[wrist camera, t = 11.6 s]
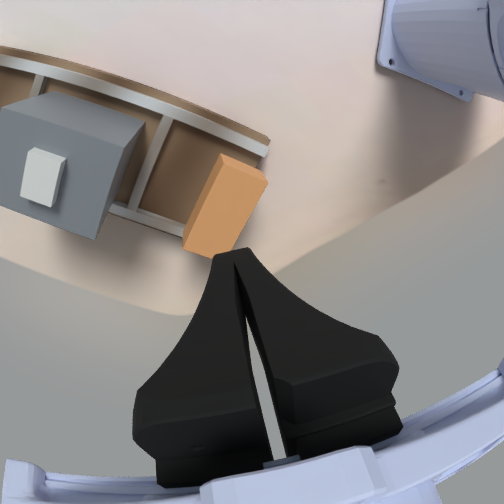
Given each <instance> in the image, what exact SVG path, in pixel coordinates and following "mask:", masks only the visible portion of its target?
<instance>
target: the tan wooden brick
mask: <svg viewBox="0 0 504 504" xmlns="http://www.w3.org/2000/svg"><path fill="white" fill-rule="evenodd" d="M267 185H268V181H267V180H266V178H265V176H264V175H263V173H262V172H261V171H260V170H258V169H256V168H254V167H251V166H249V165H247V164H245V163H242V162H240V161H238V160H235V159H233V158H231V157H228V156H226V155H224V154H221V153H220V155H219V157H218V159H217V161H216V163H215V165H214V167H213V169H212V171H211V173H210V175H209V177H208V179H207V181H206V183H205V185H204V188H203V190H202V192H201V194H200V196H199V198H198V200H197V202H196V204H195V207H194V209H193V211H192V213H191V215H190V217H189V220H188V222H187V224H186V226H185V228H184V231H183V249H184V250H187V251H190V252H193V253H196V254H199V255H202V256H205V257H208V258H211V259H213V256H214V255H215V254H219V253H223V252H228V251H231V249H232V247H233V246H234V244H235V242H236V240H237V238H238V237H239V235H240V233H241V231H242V229H243V228H244V226H245V224H246V222H247V220H248V219H249V217H250V215H251V213H252V211H253V210H254V208H255V206H256V204H257V202H258V201H259V199H260V197H261V195H262V193H263V192H264V190H265V188H266V186H267Z"/></svg>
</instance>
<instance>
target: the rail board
mask: <svg viewBox="0 0 504 504" xmlns="http://www.w3.org/2000/svg"><path fill="white" fill-rule="evenodd" d="M52 91H57V92H61V93H64V94H67V95H70V96H74V97H77V98H80V99H83V100H86V101H89V102H92V103H95V104H98V105H101V106H104V107H107V108H110V109H113V110H116V111H118V112H121V113H124V114H127V115H130V116H132V117H135V118H138V119H141V120H143V121H145V124H144V126H143V129H142V131H141V133H140V136H139V138H138V141H137V143H136V146H135V148H134V151H133V153H132V156H131V159H130V161H129V164H128V167H127V169H126V172H125V175H124V178H123V180H122V183H121V186H120V189H119V191H118V193H117V195H116V197H115V199H114V201H113V203H112V205H111V207H110V209H109V211H108V213H110V214H113V215H116V216H119V217H122V218H125V219H128V220H131V221H133V222H136V223H139V224H142V225H145V226H148V227H151V228H154V229H157V230H160V231H163V232H165V233H168V234H171V235H174V236H177V237H180V238H183V231H184V228H185V226H186V224H187V222H188V220H189V217H190V215H191V213H192V211H193V209H194V207H195V204H196V202H197V200H198V198H199V196H200V194H201V192H202V190H203V188H204V185H205V183H206V181H207V179H208V177H209V175H210V173H211V171H212V169H213V167H214V165H215V163H216V161H217V159H218V157H219V155H220V153H221V154H224V155H226V156H228V157H231V158H233V159H235V160H238V161H240V162H242V163H245V164H247V165H249V166H251V167H254V168H256V166H257V164H258V162H259V161H260V159H261V157H264V158H265V156H266V155H267V153H268V151H269V149H270V148H269V147H268V144H269V142H270V141H271V140H270V139H269V138H268V137H267V136H265V135H263V134H260V133H258V132H256V131H254V130H252V129H250V128H248V127H246V126H243V125H241V124H239V123H237V122H235V121H233V120H230V119H228V118H226V117H224V116H221V115H219V114H217V113H214V112H212V111H210V110H207V109H205V108H203V107H200V106H198V105H196V104H193V103H191V102H188V101H186V100H183V99H181V98H178V97H176V96H173V95H170V94H168V93H165V92H163V91H160V90H157V89H154V88H152V87H149V86H146V85H143V84H141V83H138V82H135V81H132V80H129V79H126V78H123V77H120V76H117V75H114V74H111V73H108V72H105V71H101V70H98V69H95V68H91V67H88V66H85V65H81V64H78V63H74V62H70V61H67V60H63V59H59V58H55V57H51V56H47V55H43V54H39V53H34V52H30V51H25V50H20V49H15V48H10V47H5V46H0V111H1V107H4V106H6V105H9V104H12V103H15V102H18V101H21V100H25V99H28V98H31V97H34V96H38V95H41V94H45V93H49V92H52Z"/></svg>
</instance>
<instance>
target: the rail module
mask: <svg viewBox="0 0 504 504" xmlns="http://www.w3.org/2000/svg"><path fill="white" fill-rule="evenodd" d="M144 124H145V121H143V120H141V119H138V118H135V117H132V116H130V115H127V114H124V113H121V112H118V111H116V110H113V109H110V108H107V107H104V106H101V105H98V104H95V103H92V102H89V101H86V100H83V99H80V98H77V97H74V96H70V95H67V94H64V93H61V92H57V91H52V92H49V93H45V94H41V95H38V96H34V97H31V98H28V99H25V100H21V101H18V102H15V103H12V104H9V105H6V106H4V107H1V111H0V206H3V207H5V208H8V209H11V210H13V211H16V212H18V213H21V214H24V215H26V216H29V217H32V218H34V219H37V220H40V221H42V222H45V223H48V224H50V225H53V226H56V227H58V228H61V229H64V230H67V231H70V232H72V233H75V234H78V235H81V236H83V237H86V238H89V239H92V240H95V239H96V237H97V234H98V232H99V230H100V228H101V226H102V223H103V221H104V219H105V217H106V215H107V213H108V211H109V209H110V207H111V205H112V203H113V201H114V199H115V197H116V195H117V193H118V191H119V189H120V186H121V183H122V180H123V178H124V175H125V172H126V169H127V167H128V164H129V161H130V159H131V156H132V153H133V151H134V148H135V146H136V143H137V141H138V138H139V136H140V133H141V131H142V129H143V126H144Z"/></svg>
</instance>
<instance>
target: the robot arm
mask: <svg viewBox="0 0 504 504" xmlns="http://www.w3.org/2000/svg"><path fill="white" fill-rule="evenodd" d="M389 59H391V61H392V64H391V65H390V64H389ZM377 62H378V64H379V65H380V66H382V67H385V68H387V69H390V70H393V71H396V72H398V73H401V74H404V75H406V76H409V77H411V78H414V79H416V80H419V81H421V82H424V83H426V84H428V85H431V86H433V87H435V88H437V89H440V90H442V91H444V92H446V93H448V94H450V95H453V96H455V97H457V98H459V99H461V100H463V101H465V102H468V103H469V102H471V100H472V97H473V92H474V93H478V94H481V95H484V96H487V97H491V98H494V99H497V100H500V101H503V102H504V0H385V7H384V15H383V22H382V28H381V35H380V41H379V47H378V53H377ZM459 91H460V94H459ZM245 315H246V316H245ZM246 318H247V321H248V324H249V327H250V329H251V332H252V335H253V338H254V341H255V344H256V346H257V349H258V352H259V355H260V357H261V360H262V364H263V367H264V370H265V374H266V378H267V382H268V386H269V390H270V394H271V398H272V402H273V405H274V410H275V414H276V418H277V422H278V426H279V429H280V433H281V438H282V441H283V445H284V449H285V453H286V457H287V458H283V459H279V460H274V459H273V455H272V451H271V447H270V443H269V439H268V435H267V431H266V427H265V423H264V419H263V414H262V410H261V406H260V402H259V398H258V393H257V389H256V385H255V381H254V376H253V371H252V365H251V358H250V350H249V341H248V334H247V325H246ZM398 372H399V365H398V362H397V361H396V359H395V357H394V355H393V354H392V352H391V351H390V350H389V348H388V347H387V346H386V344H385V343H384V342H383V341H382V340H381V338H379V336H377V335H374V334H372V333H369V332H366V331H363V330H359V329H357V328H354V327H351V326H349V325H347V324H344V323H342V322H339V321H337V320H335V319H333V318H332V317H330V316H328V315H326V314H324V313H322V312H320V311H319V310H317V309H315V308H314V307H312V306H311V305H309V304H307V303H306V302H305V301H303V300H302V299H300V298H299V297H297V296H296V295H295V294H293V293H292V292H291V291H290V290H288V289H287V288H286V287H285V286H284V285H283V284H281V283H280V282H279V281H278V280H277V279H276V278H275V277H274V276H273V275H272V274H271V273H270V272H269V271H268V270H267V269H266V268H265V267H264V266H263V265H262V263H261V262H260V261H259V260H258V259H257V257H256V256H255V255H254V253H253V252H252V250H251V249H250V248H248V247H246V248H242V249H237V250H233V251H228V252H223V253H219V254H215V255H214V256H213V260H212V266H211V270H210V274H209V278H208V281H207V284H206V287H205V290H204V293H203V295H202V298H201V300H200V302H199V305H198V307H197V309H196V312H195V314H194V316H193V318H192V320H191V322H190V323H189V325H188V327H187V329H186V331H185V332H184V334H183V335H182V337H181V339H180V340H179V342H178V343H177V345H176V346H175V348H174V349H173V351H172V352H171V353H170V355H169V356H168V357H167V358H166V360H165V361H164V362H163V364H162V365H161V366H160V367H159V369H158V370H157V371H156V372H155V373H154V374H153V375H152V376H151V377H150V378H149V379H148V380H147V381H146V382H145V383H144V385H143V386H142V387H141V388H139V389H138V390H137V394H136V399H135V404H134V409H133V430H132V435H133V440H134V441H135V442H136V444H137V445H139V447H141V448H142V449H143V450H144V451H145V452H147V453H148V454H149V455H150V456H151V457H153V458H154V459H155V460H156V476H151V477H104V476H85V475H72V474H61V473H53V472H46V471H44V470H43V469H42V468H40V467H39V466H37V465H35V464H32V463H30V462H26V461H21V460H15V459H9V458H8V459H7V461H6V467H5V474H4V482H3V491H2V502H1V504H443V503H442V501H441V498H440V496H439V494H438V491H437V489H436V487H435V485H436V484H438V483H440V482H442V481H443V480H445V479H447V478H449V477H450V476H452V475H454V474H455V473H457V472H458V471H460V470H462V469H463V468H465V467H467V466H468V465H470V464H471V463H472V462H474V461H476V460H477V459H479V458H480V457H481V456H483V455H484V454H486V453H487V452H489V451H490V450H491V449H493V448H494V447H495V446H497V445H498V444H499V443H501V442H502V441H503V440H504V358H503V360H502V361H501V363H500V364H499V367H498V368H497V369H495V370H494V371H492V372H491V373H489V374H487V375H486V376H484V377H483V378H481V379H479V380H478V381H476V382H474V383H472V384H471V385H469V386H467V387H466V388H464V389H462V390H460V391H458V392H457V393H455V394H453V395H451V396H449V397H447V398H445V399H443V400H442V401H440V402H437V403H436V404H433V405H431V406H429V407H427V408H425V409H423V410H421V411H419V412H417V413H415V414H412V415H410V416H408V417H406V418H403V419H401V420H400V418H399V416H398V414H397V412H396V410H395V407H394V406H395V404H396V402H395V399H394V397H393V395H392V393H391V391H392V388H393V386H394V383H395V381H396V378H397V376H398Z"/></svg>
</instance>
